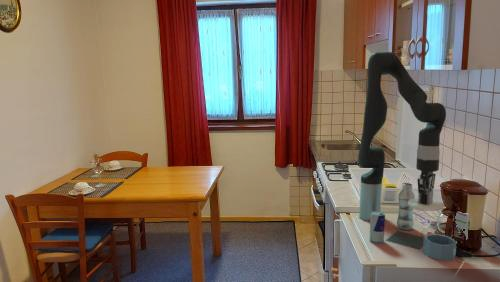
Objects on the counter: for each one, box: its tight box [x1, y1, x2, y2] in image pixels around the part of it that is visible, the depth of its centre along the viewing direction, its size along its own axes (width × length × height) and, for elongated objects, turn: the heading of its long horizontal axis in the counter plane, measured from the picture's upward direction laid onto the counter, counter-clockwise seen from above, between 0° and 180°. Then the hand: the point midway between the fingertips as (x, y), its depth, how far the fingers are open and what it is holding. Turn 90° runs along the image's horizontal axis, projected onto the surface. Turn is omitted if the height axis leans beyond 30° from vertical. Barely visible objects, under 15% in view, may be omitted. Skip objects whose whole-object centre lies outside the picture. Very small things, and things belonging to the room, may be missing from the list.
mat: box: [385, 230, 425, 250], centre depth 152 cm, size 13×13×1 cm
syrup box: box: [455, 212, 470, 240], centre depth 146 cm, size 6×6×14 cm
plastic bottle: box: [396, 182, 416, 231], centre depth 162 cm, size 6×7×20 cm
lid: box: [408, 189, 444, 212], centre depth 143 cm, size 12×12×6 cm
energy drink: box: [368, 210, 386, 245], centre depth 150 cm, size 5×5×12 cm
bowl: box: [422, 233, 457, 262], centre depth 139 cm, size 10×10×6 cm
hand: (425, 202), depth 143 cm, fingers closed on lid, 4 cm apart
